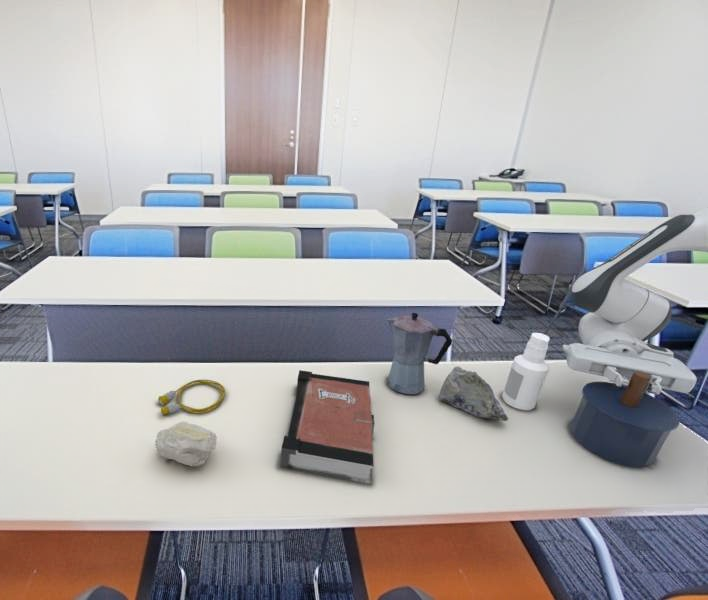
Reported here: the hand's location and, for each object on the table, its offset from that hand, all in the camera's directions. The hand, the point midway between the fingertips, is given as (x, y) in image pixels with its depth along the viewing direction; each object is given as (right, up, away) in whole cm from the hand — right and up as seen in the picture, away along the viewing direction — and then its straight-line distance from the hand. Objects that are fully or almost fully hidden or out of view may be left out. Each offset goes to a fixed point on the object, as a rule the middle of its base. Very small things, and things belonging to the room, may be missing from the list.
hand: (639, 387), depth 77 cm
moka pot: (-36, -5, +24) cm, 44 cm away
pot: (0, -13, +7) cm, 15 cm away
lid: (0, -4, +3) cm, 5 cm away
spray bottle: (-11, -8, +19) cm, 23 cm away
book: (-58, -11, +9) cm, 60 cm away
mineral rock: (-25, -9, +15) cm, 31 cm away
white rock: (-88, -14, +1) cm, 89 cm away
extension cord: (-90, -7, +18) cm, 92 cm away
